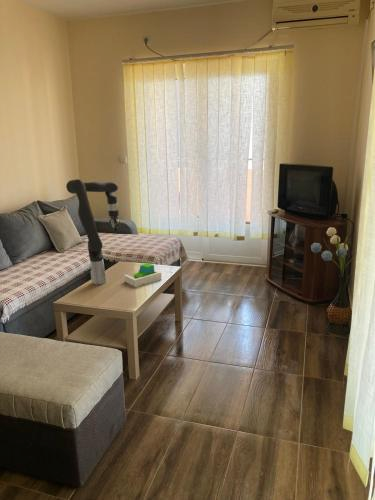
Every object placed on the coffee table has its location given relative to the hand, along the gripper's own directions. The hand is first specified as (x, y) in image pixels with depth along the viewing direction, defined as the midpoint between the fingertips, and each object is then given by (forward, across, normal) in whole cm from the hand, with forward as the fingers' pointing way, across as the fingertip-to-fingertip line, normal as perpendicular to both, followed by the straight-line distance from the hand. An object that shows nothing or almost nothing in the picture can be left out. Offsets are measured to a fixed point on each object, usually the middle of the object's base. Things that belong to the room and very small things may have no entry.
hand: (115, 232), depth 299 cm
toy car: (+32, +28, +5) cm, 43 cm away
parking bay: (+32, +30, +3) cm, 44 cm away
